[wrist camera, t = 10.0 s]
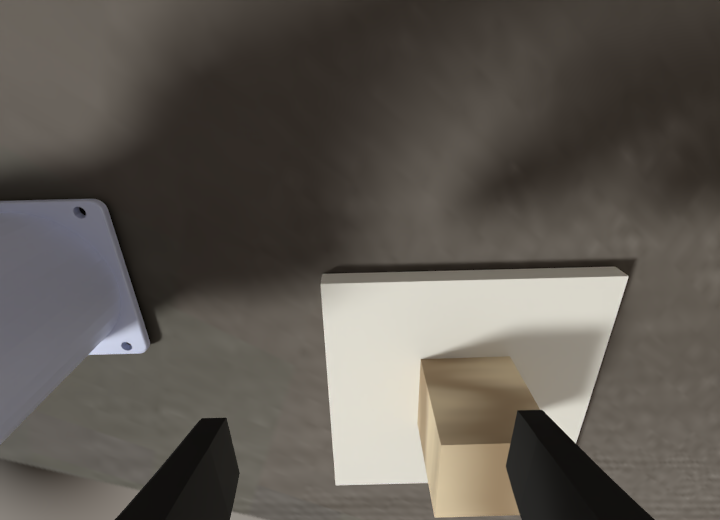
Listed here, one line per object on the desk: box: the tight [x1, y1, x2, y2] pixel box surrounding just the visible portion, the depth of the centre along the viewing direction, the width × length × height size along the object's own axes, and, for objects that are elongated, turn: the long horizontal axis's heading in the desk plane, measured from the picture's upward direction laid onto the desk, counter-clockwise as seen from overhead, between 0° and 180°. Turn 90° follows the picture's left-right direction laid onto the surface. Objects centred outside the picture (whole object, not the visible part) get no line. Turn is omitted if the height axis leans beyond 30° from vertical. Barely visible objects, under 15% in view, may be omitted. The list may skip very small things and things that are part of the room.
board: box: [321, 267, 629, 485], centre depth 21 cm, size 14×14×1 cm
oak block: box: [417, 356, 540, 518], centre depth 18 cm, size 4×4×5 cm
